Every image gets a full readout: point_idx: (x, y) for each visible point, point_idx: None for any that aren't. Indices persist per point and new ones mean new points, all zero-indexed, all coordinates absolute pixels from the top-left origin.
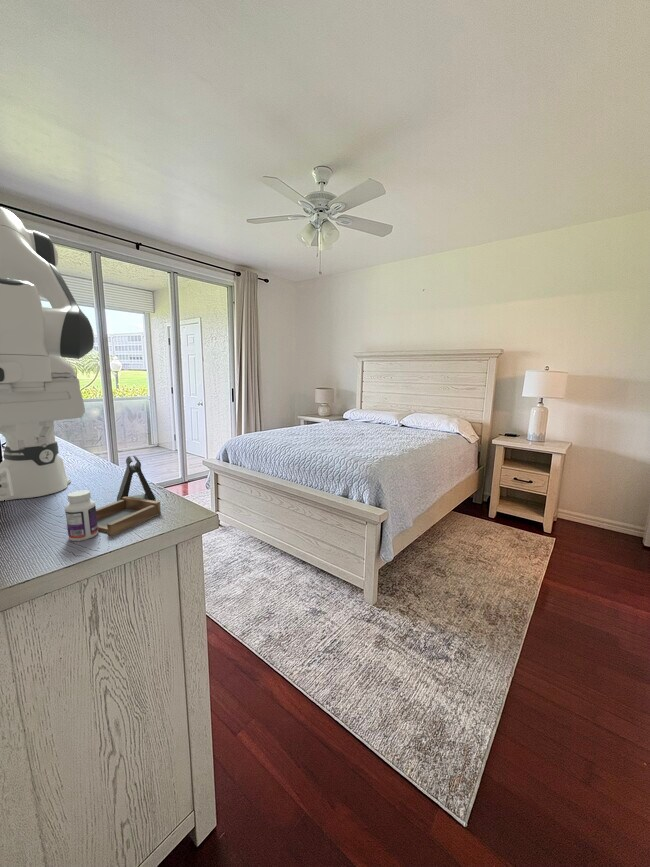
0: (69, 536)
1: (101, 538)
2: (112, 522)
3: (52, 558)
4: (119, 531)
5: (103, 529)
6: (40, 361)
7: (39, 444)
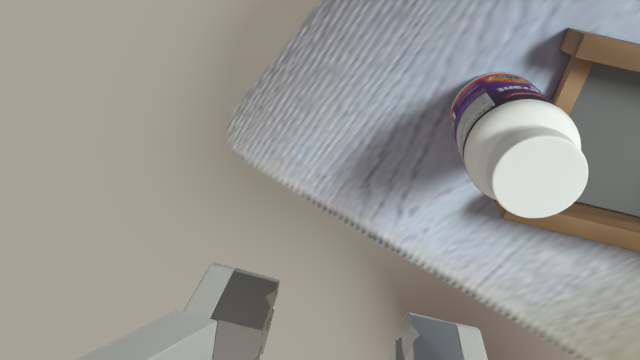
0: (457, 99)
1: None
2: None
3: (342, 133)
4: None
5: None
6: None
7: (394, 355)
